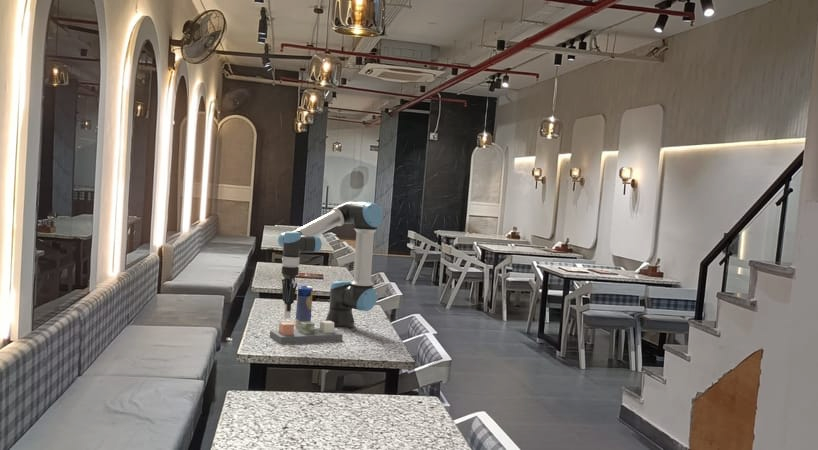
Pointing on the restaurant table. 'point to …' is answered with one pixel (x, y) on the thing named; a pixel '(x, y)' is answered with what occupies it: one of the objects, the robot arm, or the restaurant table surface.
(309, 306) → the beverage box
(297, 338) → the gray slotted block tray
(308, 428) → the restaurant table surface
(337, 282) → the robot arm
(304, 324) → the sage block
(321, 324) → the off-white block
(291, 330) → the terracotta block
